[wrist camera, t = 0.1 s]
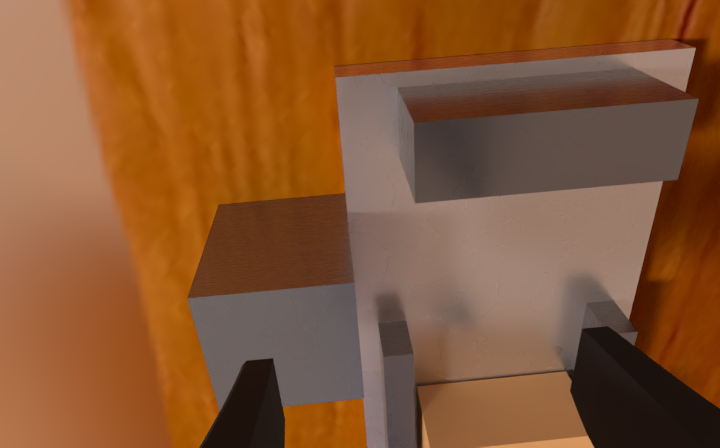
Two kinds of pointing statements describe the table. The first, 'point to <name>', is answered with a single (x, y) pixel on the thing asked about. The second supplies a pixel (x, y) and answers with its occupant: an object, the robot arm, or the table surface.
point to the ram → (501, 414)
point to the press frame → (501, 209)
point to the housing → (280, 298)
